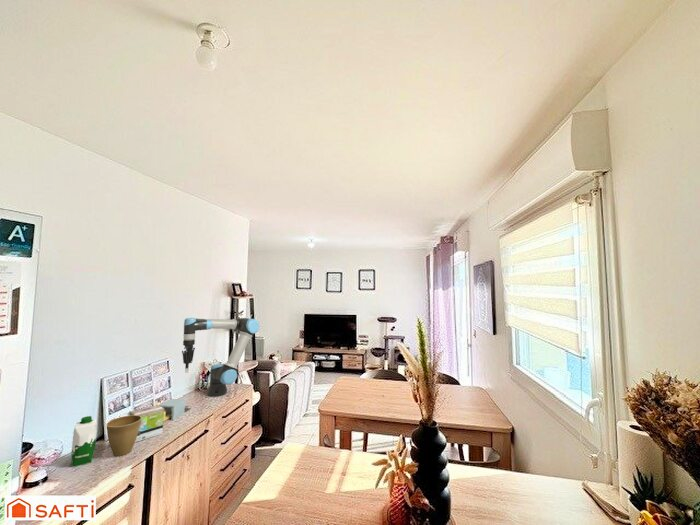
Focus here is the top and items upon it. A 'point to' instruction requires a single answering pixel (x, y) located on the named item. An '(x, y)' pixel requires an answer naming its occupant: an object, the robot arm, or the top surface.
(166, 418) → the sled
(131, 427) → the plant pot
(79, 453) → the milk carton
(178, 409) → the tunnel
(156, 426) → the tea box
